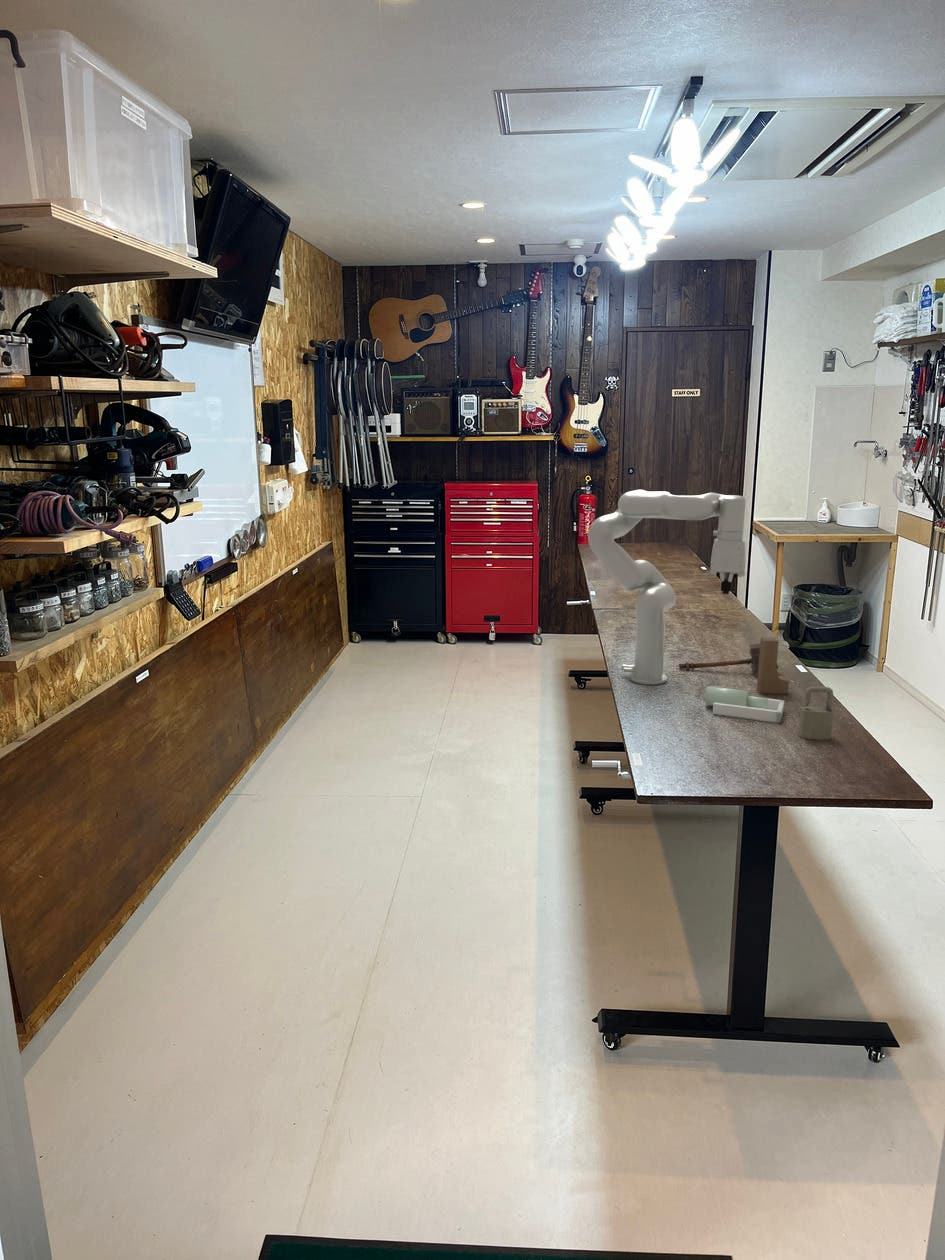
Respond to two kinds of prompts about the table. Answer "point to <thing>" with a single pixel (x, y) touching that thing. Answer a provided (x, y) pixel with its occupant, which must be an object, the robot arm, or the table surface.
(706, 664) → the hammer
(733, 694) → the bottle
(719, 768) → the table surface
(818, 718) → the padlock
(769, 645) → the wooden block
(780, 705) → the u rest
